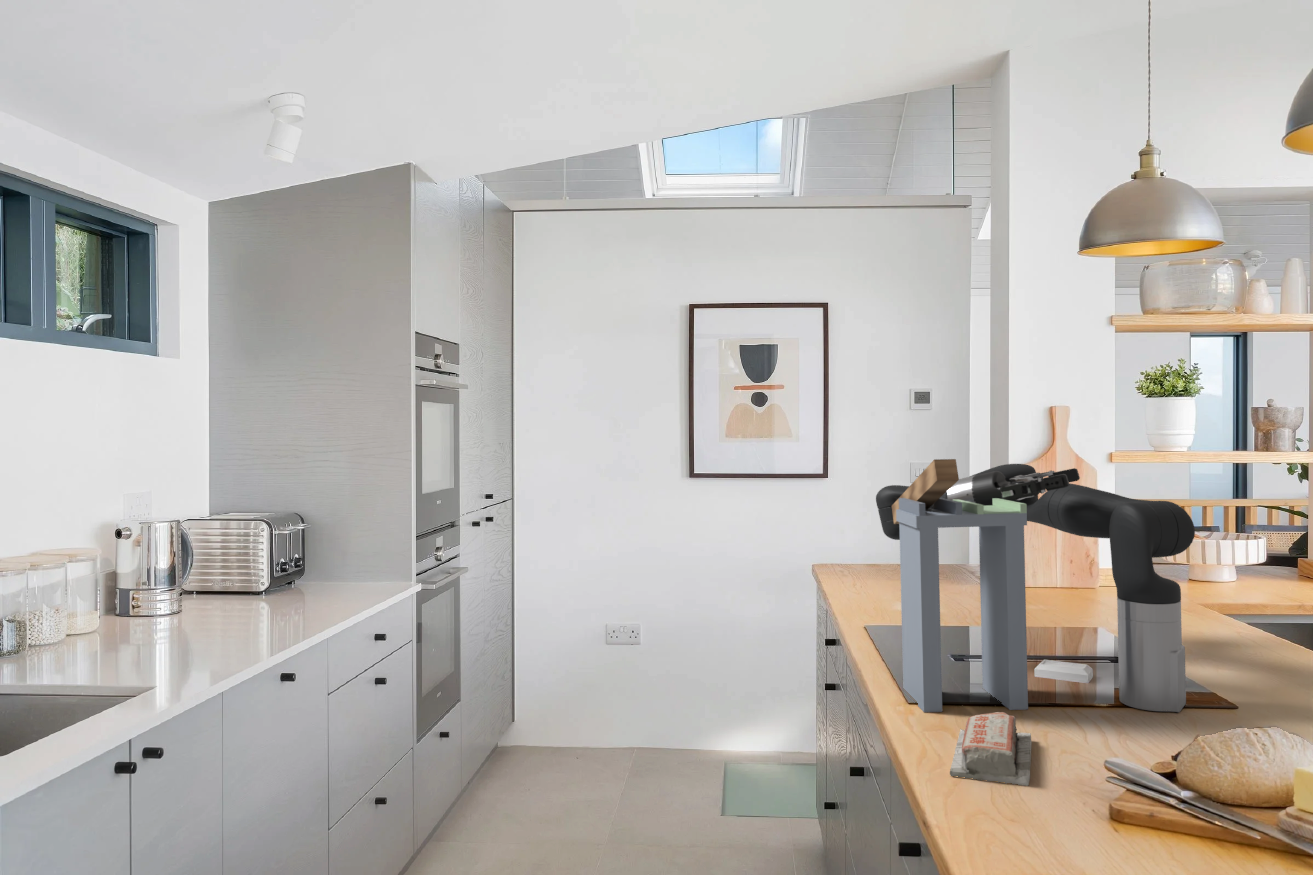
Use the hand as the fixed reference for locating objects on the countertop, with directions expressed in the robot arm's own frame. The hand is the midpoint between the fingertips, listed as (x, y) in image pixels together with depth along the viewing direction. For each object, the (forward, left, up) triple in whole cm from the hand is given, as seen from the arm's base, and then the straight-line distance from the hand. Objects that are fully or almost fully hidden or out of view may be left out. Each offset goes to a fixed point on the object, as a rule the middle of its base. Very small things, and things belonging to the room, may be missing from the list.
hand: (1072, 477), depth 155 cm
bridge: (+14, +15, -37) cm, 43 cm away
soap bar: (+5, -9, -38) cm, 39 cm away
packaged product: (+1, +39, -38) cm, 54 cm away
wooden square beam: (+20, +16, -4) cm, 26 cm away
